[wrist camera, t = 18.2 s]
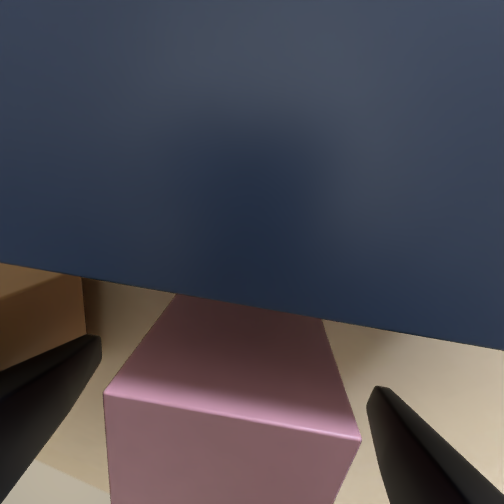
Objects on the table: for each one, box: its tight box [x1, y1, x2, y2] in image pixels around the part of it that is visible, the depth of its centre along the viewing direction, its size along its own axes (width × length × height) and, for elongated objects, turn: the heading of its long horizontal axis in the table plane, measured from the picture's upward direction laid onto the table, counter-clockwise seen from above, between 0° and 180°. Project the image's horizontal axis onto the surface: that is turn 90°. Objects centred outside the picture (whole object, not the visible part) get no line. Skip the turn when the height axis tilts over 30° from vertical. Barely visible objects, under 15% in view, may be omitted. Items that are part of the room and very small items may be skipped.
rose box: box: [103, 294, 362, 504], centre depth 7 cm, size 5×5×5 cm
